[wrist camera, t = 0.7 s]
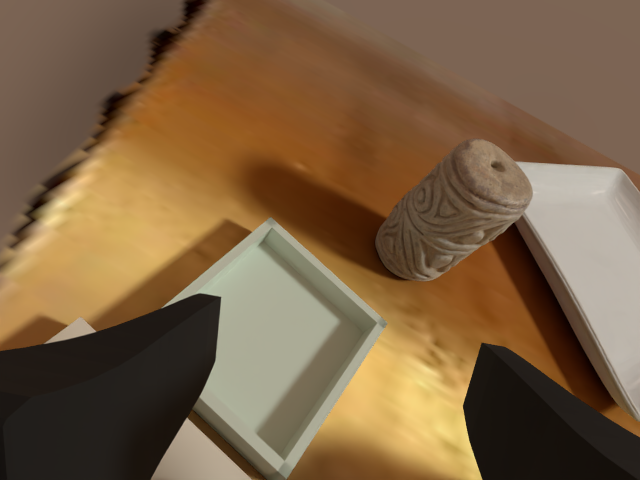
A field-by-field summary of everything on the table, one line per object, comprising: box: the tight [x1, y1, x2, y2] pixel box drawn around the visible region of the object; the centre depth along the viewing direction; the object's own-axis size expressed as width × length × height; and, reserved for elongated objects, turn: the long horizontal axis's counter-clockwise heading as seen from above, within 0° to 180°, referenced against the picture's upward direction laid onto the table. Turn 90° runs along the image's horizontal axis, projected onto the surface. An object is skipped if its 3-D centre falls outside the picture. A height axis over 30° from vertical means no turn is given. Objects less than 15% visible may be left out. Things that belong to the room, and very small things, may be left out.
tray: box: [162, 217, 387, 480], centre depth 27 cm, size 12×11×2 cm
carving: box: [375, 139, 533, 281], centre depth 33 cm, size 6×8×12 cm
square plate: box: [514, 162, 640, 422], centre depth 48 cm, size 27×27×4 cm
